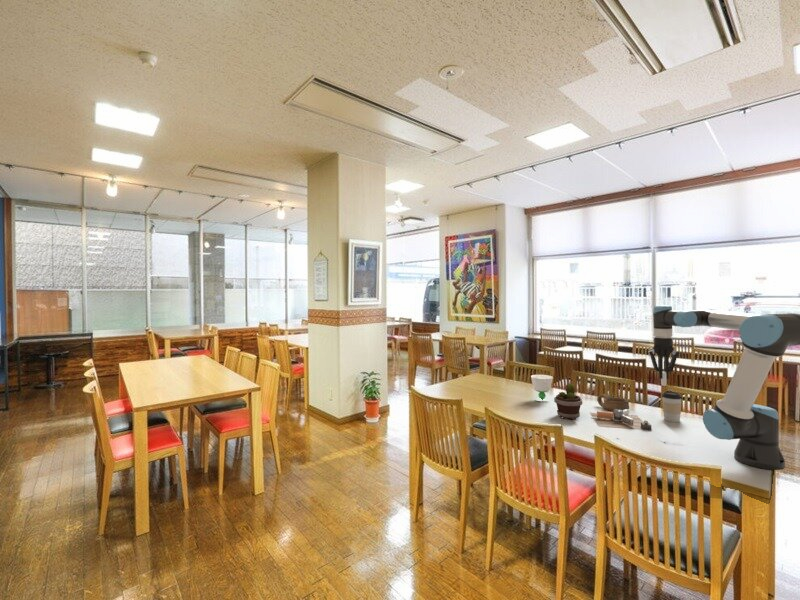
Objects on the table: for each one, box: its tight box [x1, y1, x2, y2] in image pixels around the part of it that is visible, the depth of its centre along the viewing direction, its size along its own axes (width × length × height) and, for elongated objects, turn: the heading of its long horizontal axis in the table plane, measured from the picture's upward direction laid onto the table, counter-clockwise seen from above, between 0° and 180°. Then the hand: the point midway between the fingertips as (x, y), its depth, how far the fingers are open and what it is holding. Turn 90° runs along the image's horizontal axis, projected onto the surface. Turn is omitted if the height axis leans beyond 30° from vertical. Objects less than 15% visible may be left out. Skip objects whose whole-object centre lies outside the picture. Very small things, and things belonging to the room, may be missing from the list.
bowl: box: [596, 393, 630, 413], centre depth 224 cm, size 18×14×10 cm
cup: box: [530, 374, 554, 400], centre depth 249 cm, size 14×14×16 cm
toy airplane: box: [589, 412, 652, 431], centre depth 203 cm, size 24×25×6 cm
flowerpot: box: [553, 382, 583, 420], centre depth 215 cm, size 14×15×20 cm
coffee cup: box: [661, 390, 683, 423], centre depth 207 cm, size 9×9×15 cm
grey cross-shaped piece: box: [596, 409, 633, 426], centre depth 203 cm, size 16×18×6 cm
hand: (663, 385), depth 185 cm, fingers closed
